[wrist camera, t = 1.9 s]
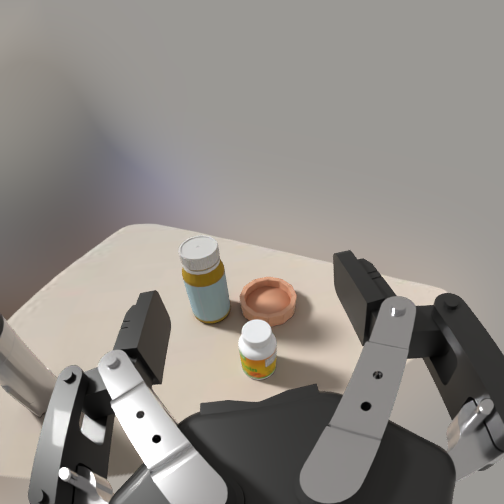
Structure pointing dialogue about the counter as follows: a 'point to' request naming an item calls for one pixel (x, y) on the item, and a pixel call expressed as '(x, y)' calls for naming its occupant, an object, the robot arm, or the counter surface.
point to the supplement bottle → (258, 349)
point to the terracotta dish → (268, 300)
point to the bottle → (205, 278)
